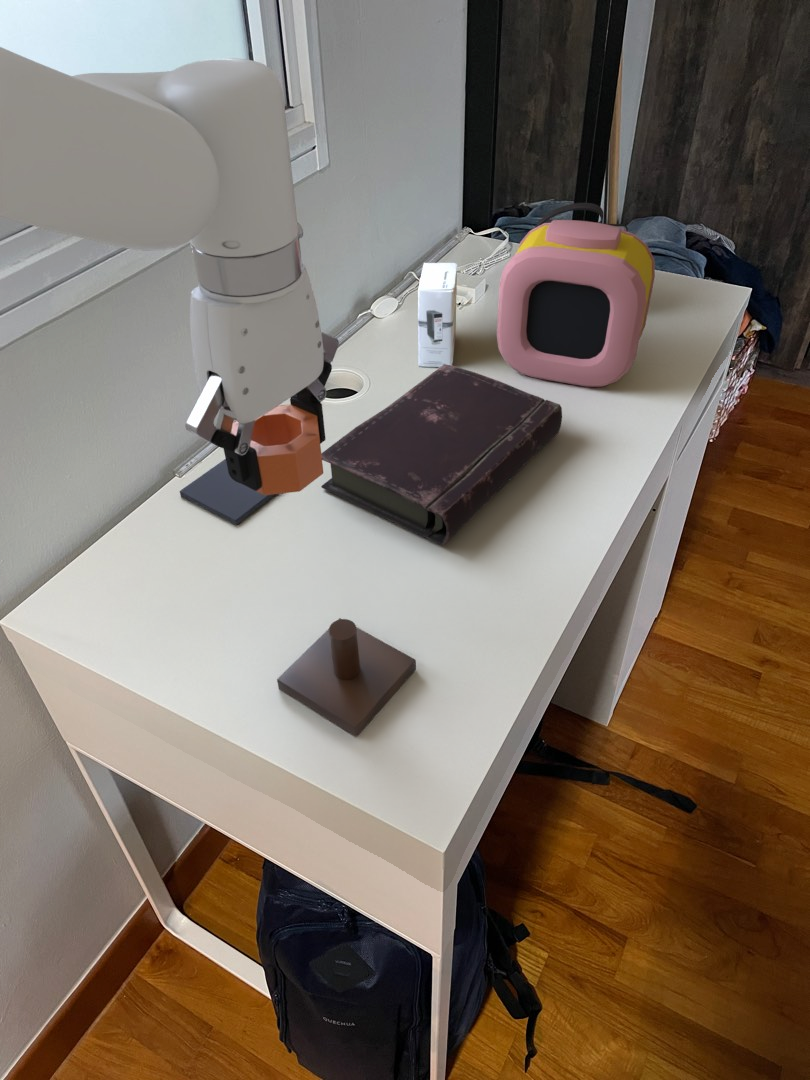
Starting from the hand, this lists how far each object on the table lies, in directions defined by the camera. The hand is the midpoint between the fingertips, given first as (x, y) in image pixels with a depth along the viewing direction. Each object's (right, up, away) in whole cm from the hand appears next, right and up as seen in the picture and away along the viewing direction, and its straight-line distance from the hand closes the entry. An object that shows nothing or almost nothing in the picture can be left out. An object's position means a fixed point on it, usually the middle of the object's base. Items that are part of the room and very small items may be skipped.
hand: (279, 458), depth 70 cm
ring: (0, -1, +1) cm, 1 cm away
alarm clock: (+33, +17, +44) cm, 58 cm away
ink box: (+15, +20, +47) cm, 54 cm away
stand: (+6, -20, +5) cm, 21 cm away
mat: (-9, -1, +25) cm, 27 cm away
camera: (+37, +30, +58) cm, 74 cm away
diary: (+15, +2, +28) cm, 32 cm away
